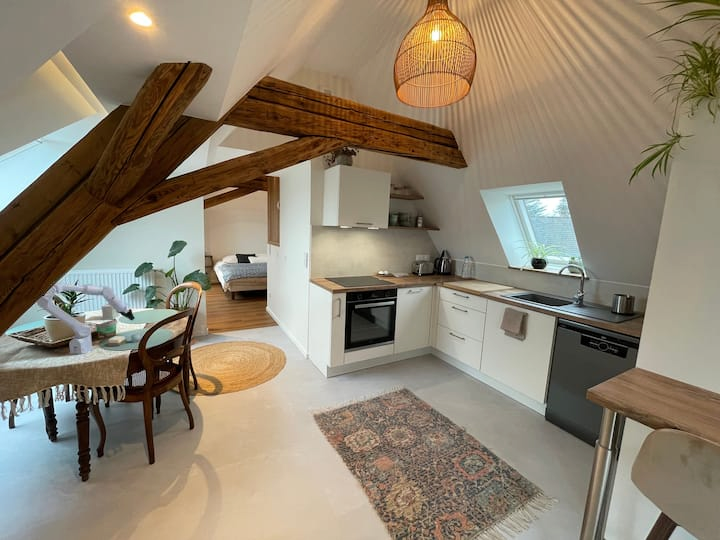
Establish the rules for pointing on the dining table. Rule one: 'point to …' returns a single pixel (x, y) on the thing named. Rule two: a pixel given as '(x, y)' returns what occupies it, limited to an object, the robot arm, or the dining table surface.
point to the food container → (106, 329)
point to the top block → (116, 339)
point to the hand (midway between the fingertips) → (130, 318)
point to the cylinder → (135, 338)
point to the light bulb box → (109, 312)
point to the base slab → (117, 343)
